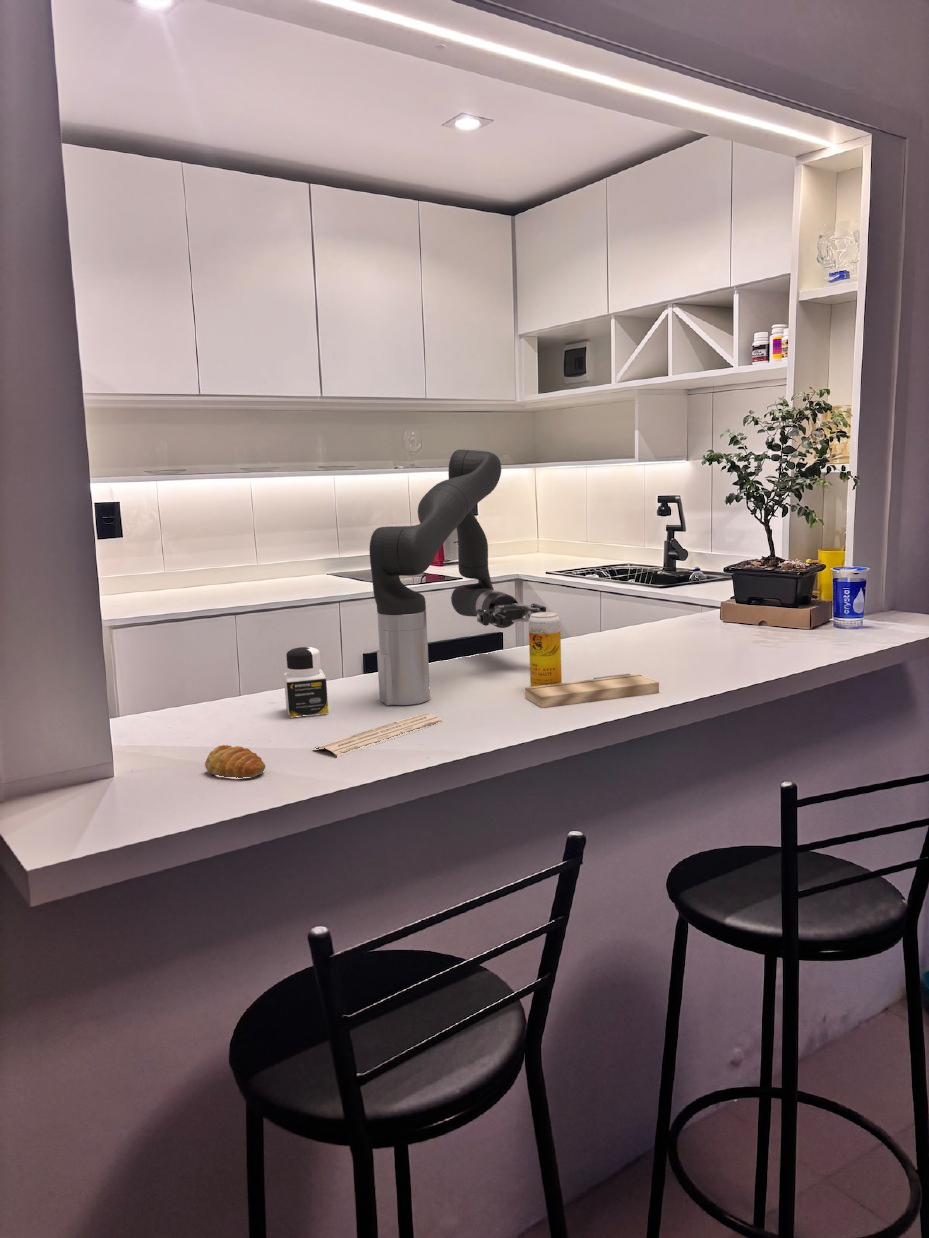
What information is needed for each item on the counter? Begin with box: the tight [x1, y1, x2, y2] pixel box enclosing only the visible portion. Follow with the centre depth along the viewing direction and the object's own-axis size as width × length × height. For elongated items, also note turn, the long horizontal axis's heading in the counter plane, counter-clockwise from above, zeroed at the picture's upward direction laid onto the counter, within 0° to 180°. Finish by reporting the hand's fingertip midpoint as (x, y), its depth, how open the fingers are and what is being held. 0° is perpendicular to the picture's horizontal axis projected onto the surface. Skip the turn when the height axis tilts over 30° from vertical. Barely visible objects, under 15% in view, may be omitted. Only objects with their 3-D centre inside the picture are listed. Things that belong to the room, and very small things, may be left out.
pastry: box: [204, 744, 266, 778], centre depth 131 cm, size 9×7×4 cm
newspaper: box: [314, 713, 443, 756], centre depth 148 cm, size 24×7×2 cm, turn 138°
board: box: [524, 673, 660, 708], centre depth 168 cm, size 24×8×2 cm, turn 108°
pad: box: [593, 673, 632, 679], centre depth 178 cm, size 8×7×1 cm
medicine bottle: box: [283, 646, 329, 717], centre depth 164 cm, size 7×7×12 cm
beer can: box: [528, 611, 563, 687], centre depth 172 cm, size 6×6×15 cm
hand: (523, 619), depth 182 cm, fingers open, 8 cm apart
